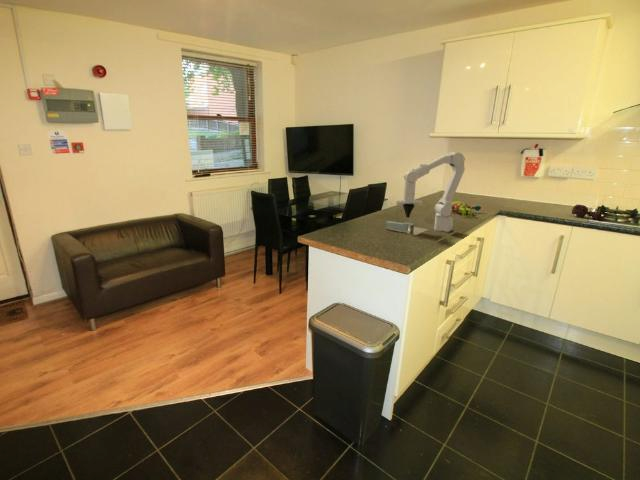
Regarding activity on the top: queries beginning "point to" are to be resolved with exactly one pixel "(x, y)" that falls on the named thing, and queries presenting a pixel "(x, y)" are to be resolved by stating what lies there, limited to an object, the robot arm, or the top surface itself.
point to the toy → (463, 208)
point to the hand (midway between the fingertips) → (407, 217)
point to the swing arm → (399, 225)
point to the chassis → (412, 230)
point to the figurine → (586, 212)
